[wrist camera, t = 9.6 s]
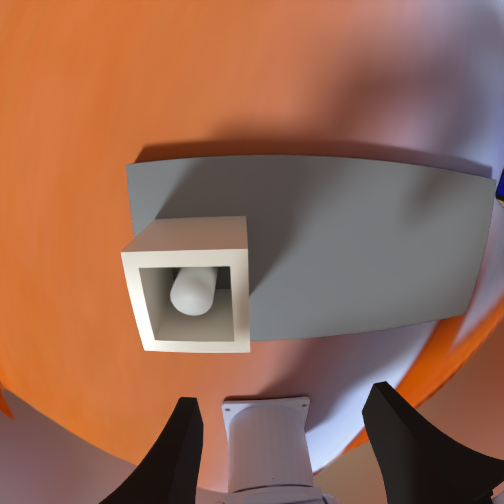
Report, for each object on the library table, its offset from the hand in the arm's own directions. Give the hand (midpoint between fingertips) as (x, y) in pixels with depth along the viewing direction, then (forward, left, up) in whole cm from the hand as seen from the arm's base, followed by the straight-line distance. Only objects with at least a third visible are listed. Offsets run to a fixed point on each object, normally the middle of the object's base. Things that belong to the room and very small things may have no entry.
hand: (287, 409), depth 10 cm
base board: (+3, -5, -9) cm, 11 cm away
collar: (+3, +4, -8) cm, 10 cm away
